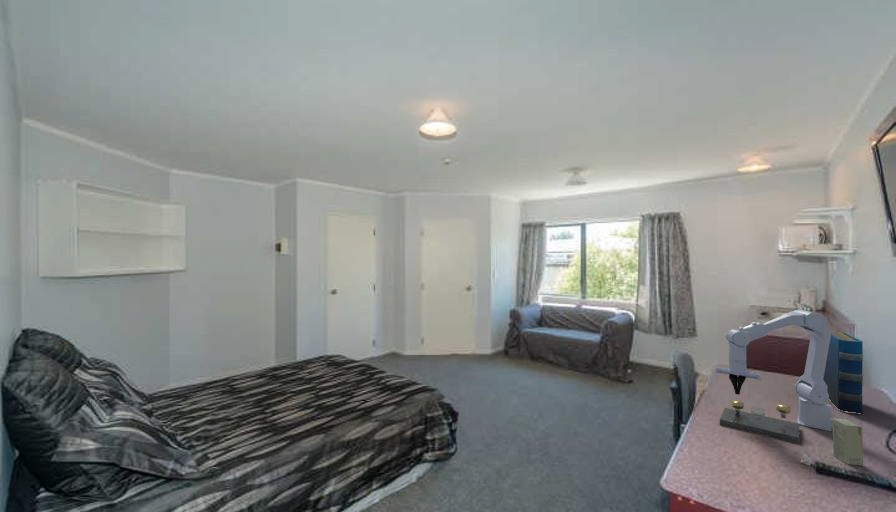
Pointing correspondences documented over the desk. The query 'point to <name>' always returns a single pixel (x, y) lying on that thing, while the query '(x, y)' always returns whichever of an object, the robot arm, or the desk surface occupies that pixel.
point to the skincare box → (847, 441)
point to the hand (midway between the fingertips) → (737, 393)
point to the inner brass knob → (783, 409)
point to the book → (844, 372)
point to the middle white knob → (758, 412)
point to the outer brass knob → (737, 405)
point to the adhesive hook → (806, 460)
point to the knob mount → (761, 425)
